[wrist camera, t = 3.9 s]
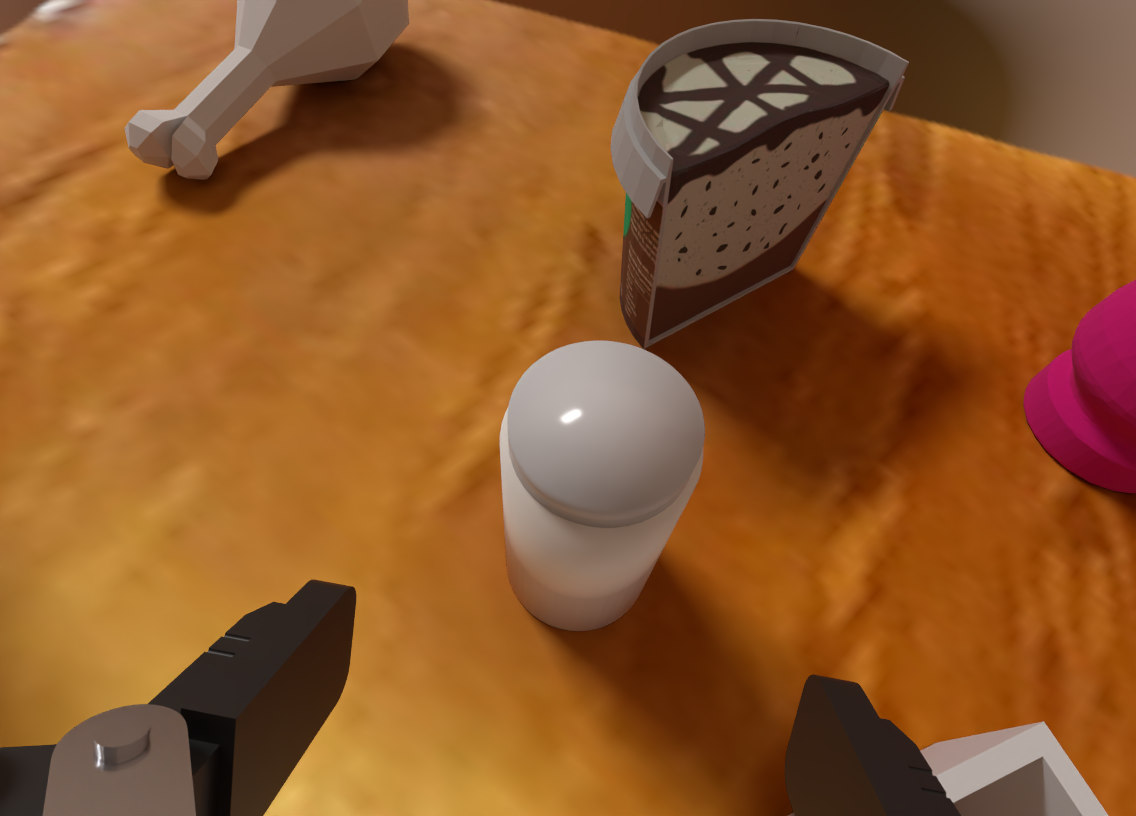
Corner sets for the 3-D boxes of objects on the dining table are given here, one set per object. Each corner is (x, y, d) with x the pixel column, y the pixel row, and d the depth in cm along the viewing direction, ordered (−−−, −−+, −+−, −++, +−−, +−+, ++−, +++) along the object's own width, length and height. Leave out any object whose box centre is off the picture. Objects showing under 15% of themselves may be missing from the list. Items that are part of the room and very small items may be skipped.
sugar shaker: (533, 653, 21) (541, 549, 13) (488, 518, 24) (472, 362, 16) (670, 601, 22) (752, 478, 14) (613, 478, 25) (658, 315, 17)
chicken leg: (105, 160, 34) (35, 50, 26) (310, -42, 40) (303, -181, 32) (249, 253, 36) (223, 175, 28) (427, 45, 41) (446, -68, 34)
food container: (731, 187, 35) (799, -16, 26) (814, 258, 32) (918, 58, 24) (538, 274, 30) (545, 64, 22) (616, 363, 28) (658, 164, 19)
